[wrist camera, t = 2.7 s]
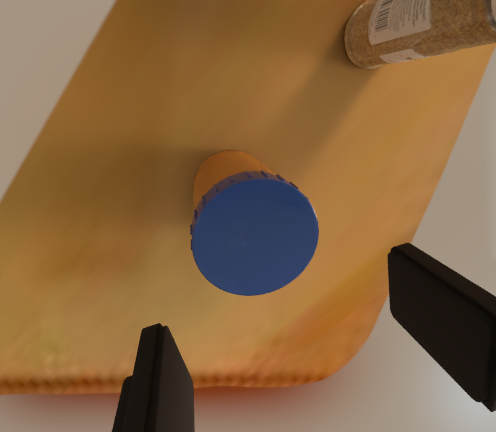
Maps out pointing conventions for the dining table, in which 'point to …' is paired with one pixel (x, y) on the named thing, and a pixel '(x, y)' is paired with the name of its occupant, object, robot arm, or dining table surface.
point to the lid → (253, 233)
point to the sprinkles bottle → (416, 29)
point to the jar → (222, 170)
